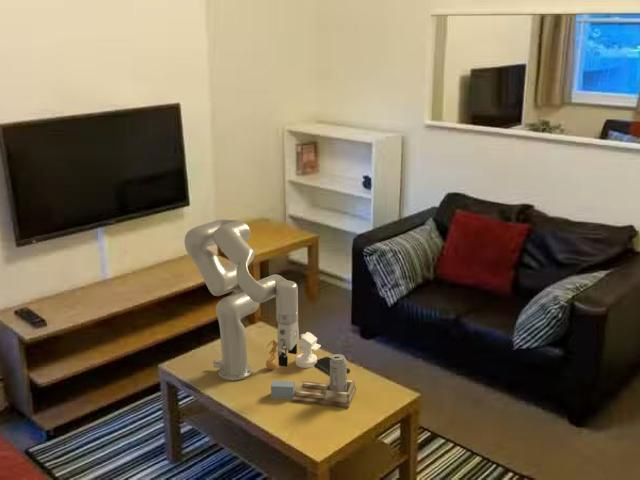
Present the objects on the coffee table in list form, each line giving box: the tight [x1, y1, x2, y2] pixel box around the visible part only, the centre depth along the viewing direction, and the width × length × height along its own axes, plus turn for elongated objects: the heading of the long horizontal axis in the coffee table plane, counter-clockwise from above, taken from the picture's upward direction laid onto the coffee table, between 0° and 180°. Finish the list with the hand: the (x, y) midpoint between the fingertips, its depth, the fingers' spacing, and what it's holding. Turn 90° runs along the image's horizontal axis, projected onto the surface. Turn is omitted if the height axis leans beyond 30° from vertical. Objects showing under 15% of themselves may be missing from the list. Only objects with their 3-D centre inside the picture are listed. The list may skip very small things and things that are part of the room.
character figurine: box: [295, 331, 322, 369], centre depth 277 cm, size 9×10×12 cm
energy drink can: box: [329, 353, 348, 392], centre depth 251 cm, size 6×6×15 cm
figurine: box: [265, 339, 278, 370], centre depth 273 cm, size 8×6×12 cm
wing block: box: [270, 380, 296, 400], centre depth 255 cm, size 8×4×5 cm, turn 84°
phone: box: [314, 356, 351, 376], centre depth 274 cm, size 8×1×15 cm
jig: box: [291, 377, 357, 409], centre depth 254 cm, size 20×13×4 cm, turn 76°
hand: (287, 359), depth 251 cm, fingers open, 9 cm apart
